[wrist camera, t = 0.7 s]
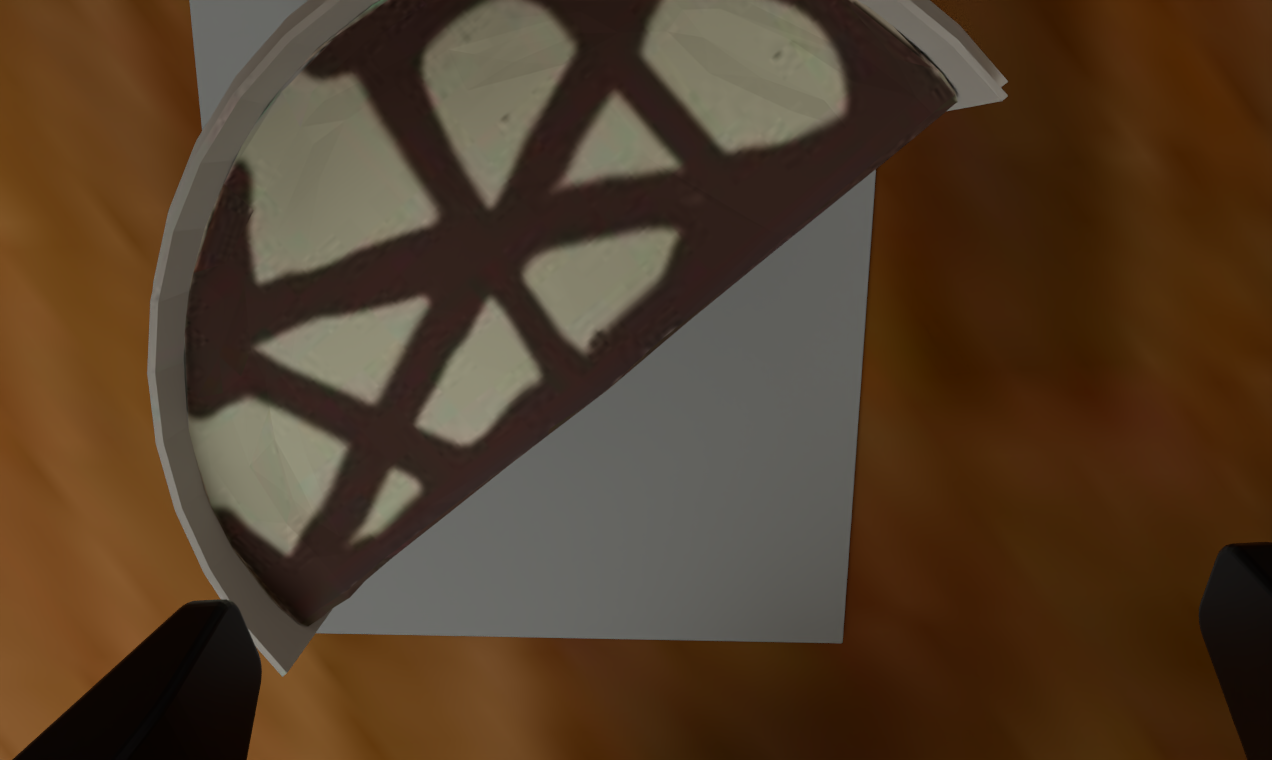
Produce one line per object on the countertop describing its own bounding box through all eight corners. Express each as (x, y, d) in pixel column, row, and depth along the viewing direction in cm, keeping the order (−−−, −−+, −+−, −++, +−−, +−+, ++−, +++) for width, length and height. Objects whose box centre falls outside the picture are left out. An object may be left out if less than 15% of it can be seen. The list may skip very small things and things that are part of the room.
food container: (673, -175, 20) (689, -449, 10) (866, 82, 21) (1050, 63, 11) (227, 238, 22) (-116, 346, 12) (424, 449, 23) (253, 700, 13)
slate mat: (841, 639, 24) (842, 643, 24) (254, 627, 24) (251, 631, 24) (888, -40, 20) (891, -41, 20) (189, -46, 20) (184, -47, 20)
